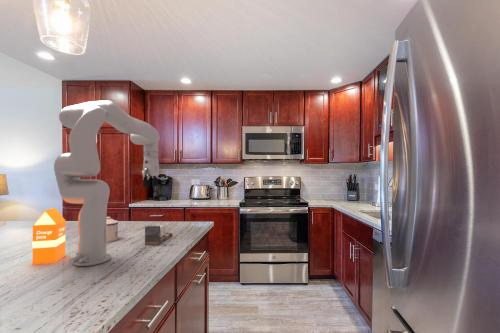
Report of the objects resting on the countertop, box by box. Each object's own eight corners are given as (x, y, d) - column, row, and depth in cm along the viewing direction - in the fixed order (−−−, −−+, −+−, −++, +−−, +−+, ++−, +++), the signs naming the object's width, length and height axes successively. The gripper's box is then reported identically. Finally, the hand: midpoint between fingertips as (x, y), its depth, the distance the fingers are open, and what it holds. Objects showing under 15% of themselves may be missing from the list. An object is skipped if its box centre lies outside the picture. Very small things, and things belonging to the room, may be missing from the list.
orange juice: (31, 264, 98) (32, 211, 98) (43, 256, 106) (44, 207, 106) (56, 262, 100) (56, 210, 100) (65, 255, 108) (66, 207, 109)
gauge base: (157, 245, 122) (157, 227, 122) (144, 245, 122) (145, 227, 122) (172, 235, 140) (172, 219, 140) (161, 235, 140) (161, 219, 140)
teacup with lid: (120, 240, 131) (120, 217, 131) (99, 243, 125) (99, 219, 125) (114, 235, 140) (114, 214, 140) (94, 238, 134) (95, 216, 134)
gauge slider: (161, 238, 126) (161, 226, 127) (150, 238, 127) (150, 226, 127) (166, 235, 132) (166, 223, 133) (156, 235, 133) (156, 223, 133)
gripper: (150, 154, 132) (149, 187, 132) (164, 156, 150) (164, 185, 149) (135, 154, 133) (135, 187, 133) (151, 156, 150) (151, 185, 150)
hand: (150, 186), depth 141 cm, fingers open, 9 cm apart
